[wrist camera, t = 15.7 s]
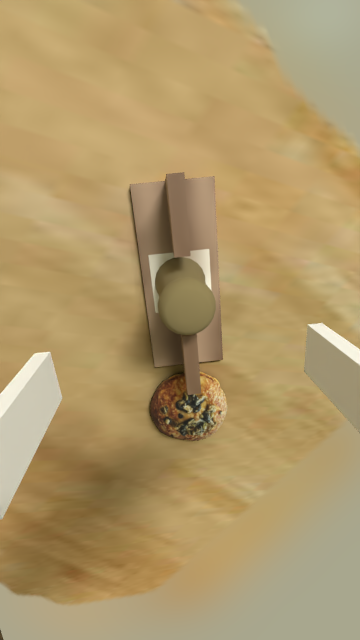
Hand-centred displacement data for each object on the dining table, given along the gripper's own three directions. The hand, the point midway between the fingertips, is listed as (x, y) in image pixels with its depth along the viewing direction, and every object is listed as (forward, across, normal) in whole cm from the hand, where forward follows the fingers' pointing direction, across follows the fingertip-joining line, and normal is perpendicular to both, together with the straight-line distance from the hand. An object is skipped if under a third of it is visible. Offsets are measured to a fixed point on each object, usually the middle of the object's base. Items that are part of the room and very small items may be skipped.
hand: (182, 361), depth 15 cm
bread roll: (+23, +1, -19) cm, 29 cm away
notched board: (+22, +2, -1) cm, 22 cm away
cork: (+21, +1, -1) cm, 21 cm away
